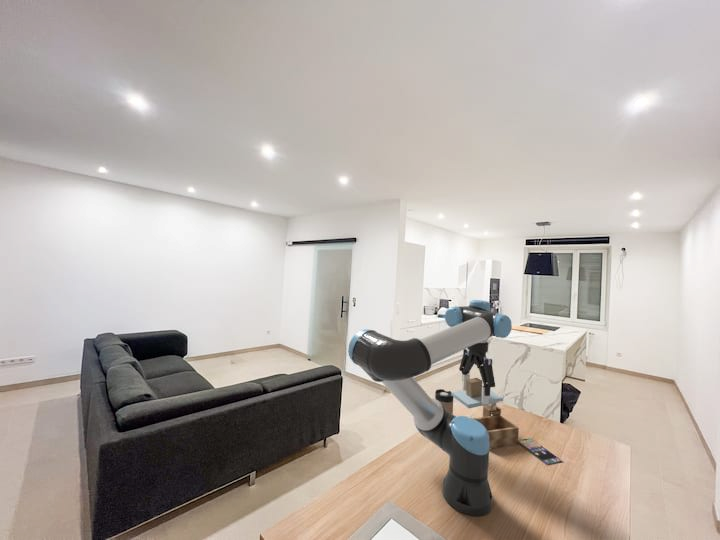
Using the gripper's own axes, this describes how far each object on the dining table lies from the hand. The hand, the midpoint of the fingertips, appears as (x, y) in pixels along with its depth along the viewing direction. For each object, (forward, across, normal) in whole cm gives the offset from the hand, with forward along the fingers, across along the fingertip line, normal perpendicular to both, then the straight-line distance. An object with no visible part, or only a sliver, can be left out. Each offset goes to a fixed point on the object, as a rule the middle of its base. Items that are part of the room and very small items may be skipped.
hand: (474, 396), depth 117 cm
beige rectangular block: (+15, +20, -23) cm, 34 cm away
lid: (0, 0, -1) cm, 1 cm away
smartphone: (+24, -4, -30) cm, 38 cm away
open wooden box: (+24, +10, -17) cm, 31 cm away
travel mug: (+24, +13, +5) cm, 28 cm away
